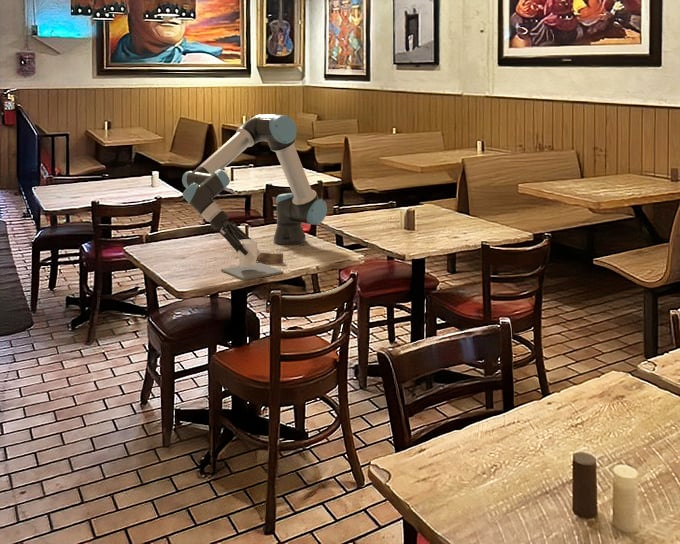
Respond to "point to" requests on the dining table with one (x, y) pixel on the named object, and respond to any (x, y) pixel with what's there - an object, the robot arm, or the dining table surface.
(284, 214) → the robot arm
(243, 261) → the white cup
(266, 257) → the walnut rail
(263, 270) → the grey mat
